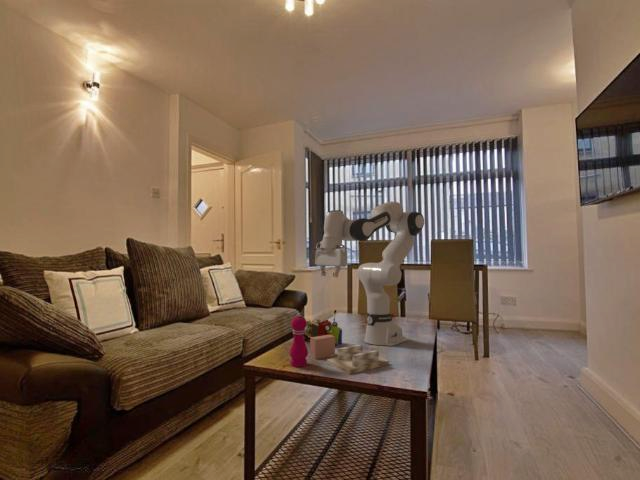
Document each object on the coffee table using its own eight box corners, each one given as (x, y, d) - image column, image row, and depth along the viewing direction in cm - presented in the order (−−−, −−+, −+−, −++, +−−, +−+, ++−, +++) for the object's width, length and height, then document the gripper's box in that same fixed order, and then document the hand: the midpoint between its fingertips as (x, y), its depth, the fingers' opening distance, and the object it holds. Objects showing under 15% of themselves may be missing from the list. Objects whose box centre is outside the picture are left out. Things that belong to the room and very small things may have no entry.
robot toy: (336, 350, 150) (299, 340, 159) (344, 345, 158) (309, 336, 167) (340, 313, 150) (302, 306, 159) (348, 310, 158) (312, 303, 167)
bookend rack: (365, 355, 140) (365, 342, 140) (388, 364, 129) (388, 350, 129) (326, 363, 129) (326, 349, 130) (348, 374, 118) (348, 358, 118)
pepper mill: (305, 368, 124) (305, 314, 125) (287, 366, 125) (287, 314, 126) (309, 362, 131) (310, 311, 132) (292, 360, 132) (292, 310, 133)
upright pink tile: (329, 352, 143) (329, 334, 144) (334, 355, 140) (335, 336, 140) (310, 356, 138) (310, 337, 138) (315, 359, 135) (315, 339, 135)
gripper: (351, 246, 139) (349, 278, 138) (325, 246, 157) (322, 275, 155) (340, 244, 136) (337, 277, 135) (314, 245, 153) (311, 274, 152)
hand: (329, 276), depth 145 cm, fingers open, 8 cm apart
